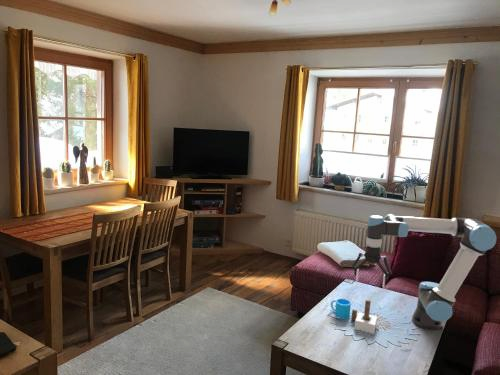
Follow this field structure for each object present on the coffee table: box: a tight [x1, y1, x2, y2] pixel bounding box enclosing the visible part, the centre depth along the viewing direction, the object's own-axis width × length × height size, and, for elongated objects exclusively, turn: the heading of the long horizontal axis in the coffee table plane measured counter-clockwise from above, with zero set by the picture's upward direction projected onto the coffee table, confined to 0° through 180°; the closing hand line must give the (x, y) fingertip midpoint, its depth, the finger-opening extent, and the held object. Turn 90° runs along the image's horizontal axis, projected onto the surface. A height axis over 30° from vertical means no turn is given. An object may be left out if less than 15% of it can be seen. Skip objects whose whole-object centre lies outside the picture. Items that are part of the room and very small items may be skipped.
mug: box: [330, 298, 352, 320], centre depth 227 cm, size 12×8×8 cm
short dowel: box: [350, 309, 358, 323], centre depth 221 cm, size 3×3×6 cm
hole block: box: [354, 311, 378, 334], centre depth 214 cm, size 10×10×5 cm
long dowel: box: [364, 299, 371, 320], centre depth 214 cm, size 3×3×15 cm
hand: (369, 284), depth 211 cm, fingers open, 13 cm apart
